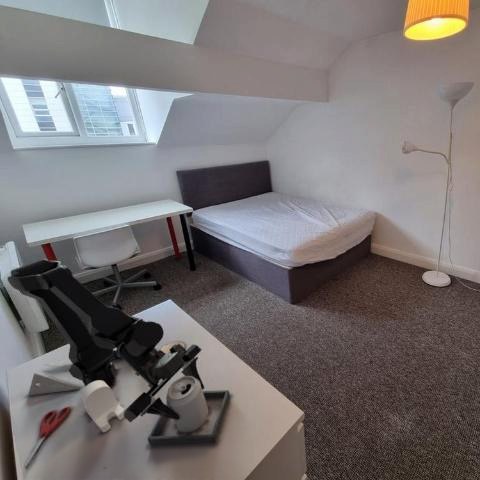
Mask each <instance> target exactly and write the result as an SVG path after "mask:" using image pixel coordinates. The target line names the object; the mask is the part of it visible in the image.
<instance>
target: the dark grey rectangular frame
mask: <svg viewBox="0 0 480 480" xmlns="http://www.w3.org/2000/svg"><path fill="white" fill-rule="evenodd" d="M202 391H203V394H204V397H205V400H219V399H222V403H221V405H220V408H219V411H218V414H217V417H216V421H215V422H214V426H213V429H212V431H211V434H187V435H185V434H183V435H161V436H160V435H159V434H161V433H160V432H161V431H162V429H163V427H164V425H165V423H166V420H167V419H168V417H164V416H160V415H159V417H158V419H157V420H156V422H155V424H154V425H153V428H152V430H151V432H150V433H149V435H148V437H147V442H148V443H149V445H150V446H154V447H155V446H182V445H185V446H187V445H212V444H213V445H215V444H216V442H217V440H218V436H219V433H220V430H221V427H222V423H223V420H224V417H225V413H226V411H227V407H228V404H229V401H230V398H231V394H230V390H229V389H224V390H223V389H219V390H202ZM165 405H166V406H168V404H167V403H166V404H165ZM168 407H169V406H168Z"/></svg>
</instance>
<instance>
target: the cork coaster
mask: <svg viewBox="0 0 480 480" xmlns="http://www.w3.org/2000/svg"><path fill="white" fill-rule="evenodd" d="M176 343H179V344H180V345H182V346H183V347H184V348H185V349H186V347H185V344H184V343H183V342H181V341H173V342H170V343H167V344H166V345H164V346H162V347H161V348H160V349H159V350H161V351H163V352H164V353H166V354H168V353H169V352H170V348H171V347H172V346H174V345H175V344H176Z"/></svg>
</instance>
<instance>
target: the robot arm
mask: <svg viewBox="0 0 480 480" xmlns="http://www.w3.org/2000/svg"><path fill="white" fill-rule="evenodd" d="M7 282H8V283H9V285H10V286H11V287H12V288H13V289H14V290H16V291H18V292H19V293H20V294H21V295H23V296H25V297H29V298H31V299H35V300H37V302H38V303H39V304H40V306H41V307H42V308H43V310H44V311H45V313H46V314H47V316H48V317H49V318H50V320H51V321H52V322H53V324H54V325H55V327H56V328H57V329H58V331H59V332H60V333H61V335H62V336H63V338H64V339H65V340H66V342H67V343H68V345H69V351H68V359H70V361H71V362H72V364H71V365H70V367H69V369H68V373H69V374H70V375H71V376H72V378H74V379H77V380H79V381H82V383H83V386H85V387H86V386H87V385H88V384H90V383H92V382H94V381H98V380H102V381H104V382H105V383H106V384H107V385H108V386H109V387H110V388H112V387H113V386H114V383H115V380H116V378H117V375H118V368H116V367H115V365H114V363H113V362H111V361H112V360H113V358H114V352H113V351H114V350H117V352H116V355H117V356H118V357H120V359H122V360H123V361H124V362H125V363H126V364H127V365H128V366H129V367H130V368H132V370H133V371H134V372H135V373H134V374H135V375H136V376H137V377H140V378H142V379H143V380H144V381H145V382H146V384H148V385H147V386H148V387H149V388H150V389H149V390H147V392H145V391H144V392H142V393H141V394H140V395H139V396H138V397H137V398H135V400H134V401H133V402H132V403H131V404H129V405H128V406H127V408H125V409H124V419H125V420H127V421H128V422H129V423H132V422H133V421H134V420H136V419H138V417H139V416H140V417H143V416H144V415H146V414H147V415H149V414H150V415H157V416H159V417H160V416H164V417H167V419H172V420H174V419H175V420H179V419H180V417H179V416H178V415H177V414H176V413H175V412H174V411H173V410H171V409H170V408H169V407H168V406H166V404H165V403H164V402H163V400H162V399H161V397H159V396H158V397H157V398H156V397H155V396H156V395H157V394H158V393H159V392H160V391H161V390H162V389H163V388H164V386H166V385H167V384H168V383H169V381H170V380H172V378H174V376H175V375H177V373H178V372H179V371H180V370H181V369H182V371H181V372H180V373H181V374H182V375H183V376H192V377H194V378H195V379H198V380H199V382H200V384H201V388H202V391H204V390H205V385H204V383H203V381H202V378H201V376H200V374H199V371H198V367H197V361H198V360H199V356H198V355H199V354H200V352H201V351H202V350H203V349H201V347H200V346H199V345H197V344H191V345H190V346H189V347H188V348H187V349H186V347H185V346H184V347H185V348H184V347H183V346H182V345H180V344H179V343H176V344H175V345H174V346H172V347H171V348H170V352H169V353H168V354H166V353H164V352H163V351H161V350H160V349H159V350H158V349H157V348H156V347H157V345H158V344H159V343H160V342H161V341H162V339H163V337H164V334H165V333H164V328H163V326H162V325H161V324H160V323H159V322H156V321H151V320H149V321H146V320H145V321H143V320H144V319H143V318H140V317H135V316H133V315H131V314H128V313H125V312H124V311H123V310H121V309H120V308H118V307H113V306H107V304H105V303H103V301H101V300H100V299H99V298H98V297H97V296H96V295H95V294H94V293H92V291H91V290H89V289H88V288H87V287H86V286H85V285H83V284H82V283H81V282H80V281H79V280H78V279H77V278H76V277H74V275H73V273H72V270H71V269H69V267H67V266H65V265H63V263H62V262H61V260H48V259H46V258H41V259H39V260H36V261H33V262H30V263H28V264H24V265H23V266H19V267H17V268H14V269H11V271H10V275H9V276H7ZM84 321H85V323H86V324H87V325H86V324H85V323H84ZM87 326H88V327H87ZM114 359H115V358H114ZM161 380H162V381H161ZM160 381H161V382H160ZM85 387H84V388H85Z"/></svg>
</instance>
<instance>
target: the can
mask: <svg viewBox="0 0 480 480" xmlns="http://www.w3.org/2000/svg"><path fill="white" fill-rule="evenodd" d="M203 391H204V390H202V388H201V384H200V382H199V380H198V379H195V378H194V377H192V376H185V375H183V376H181V377H179V378H177V379H176V380H174V381H173V382H172V384H170V385H169V387H168V390H167V393H166V397H165V399H166V404H168V406H169V408H170V409H171V410H173V411H174V412H175V413H176V414H177V415H178V416H179V417H180V419H179V420H175V419H173V421H174V424H175V426H176V428H177V430H178V431H179V432H181V433H191V432H194V431H196V430H197V429H199V428H200V427H201V426H202V425H203V424H204V423H205V422H206V420H207V419H208V416H209V408H208V407H209V406H208V403H207V401H206V399H205V397H204V394H203Z"/></svg>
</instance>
